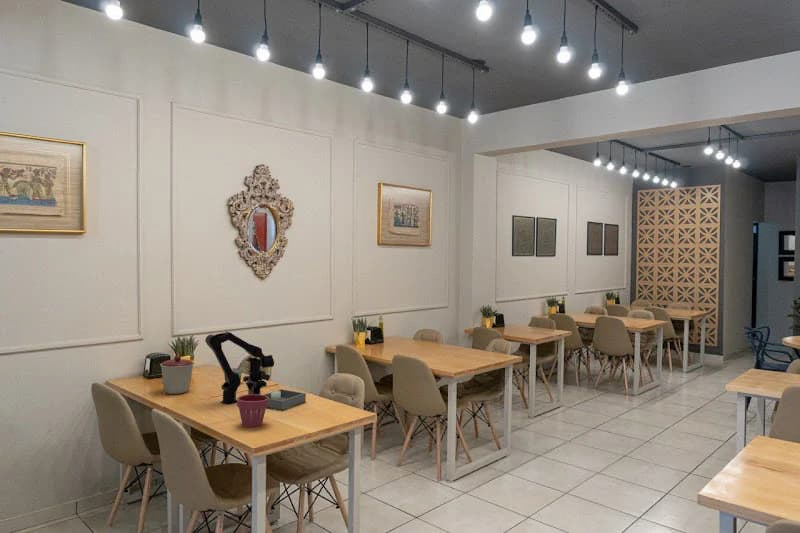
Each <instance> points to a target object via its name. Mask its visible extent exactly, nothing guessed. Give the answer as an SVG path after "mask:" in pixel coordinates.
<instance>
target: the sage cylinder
mask: <svg viewBox="0 0 800 533" xmlns="http://www.w3.org/2000/svg"><path fill="white" fill-rule="evenodd" d="M270 392H271V399H275V400H281V391H277V390H271V391H270Z"/></svg>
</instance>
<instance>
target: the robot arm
mask: <svg viewBox="0 0 800 533" xmlns="http://www.w3.org/2000/svg"><path fill="white" fill-rule="evenodd" d="M227 341H229V342H231V343H232V344H235V345H236V346H238V347H240V348H241V349H243V350H244V351H245V352H246V353H248V354H247V355H250V356H249V357H247V359H246V360H245V361H246V362H248V363H249V370H248V371H247V372H248V373H249V375H245V376H243V378H241V379H240V378H239V375H238V373H236V372H234V371H232V369H233V368H232V367H231V365H230V363H229V361H228V358H227V357H226V355H225V353H224V351H223V349H222V348H223V346H222V344H223V343H225V342H227ZM205 343H206V345H207V346H208V347H209V349H210V350H212V352H213V354H214V355H215V357H216V359H217V362H218V364H219V366H220V368H221V370H222V372H223V374H224V383H223V384H222V385H221V389H222V390H223V391H222V400H221V401H220V404H221V403H222V404H226V405H230V404H234V403H237V391H238V389H239V387H240V386H241V382H240V380H242V382H243V383H245V385H246V387H247V390H248V389H253V392H254V394H259V391H260V390H261V389H262V388H264V387H267V385H268V384H267V382H269V381H270V377H271V375H269V374H268V373H266V371H264V370H261V368H262V369H266V368H273V367H274V365H275V360H274V358H273V355H272V354H268V355H265V354H264V353H263V350H262V348H261V347H259V346H256V345H254V344H250V343H248V342H247V341H245V340H243V339H241V337H238V336H236V335H235V334H233V333H232V332H229V331H225V332H221V333H216V334H211V333H210V334H208V335H207V336H206V338H205Z"/></svg>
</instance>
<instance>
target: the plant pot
mask: <svg viewBox="0 0 800 533" xmlns="http://www.w3.org/2000/svg"><path fill="white" fill-rule="evenodd" d="M236 400H237V402H236V407H237V408H238V410H239V415H240V422H241V425H242V427H245V428H257V427H260V426H262V425H263V422H264V418H265V414H266V409H267V408H266V407H267V406H268V397H267V396H265V395H264V394H260V395H259V394H250V395H248V394H244V395H240V396H238V397H236Z"/></svg>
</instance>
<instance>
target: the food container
mask: <svg viewBox="0 0 800 533" xmlns="http://www.w3.org/2000/svg"><path fill="white" fill-rule="evenodd" d="M231 369H232V371H234V372H236V373H238V375H239V378H240V379H241V380H242V372H243V371H244V369H243V367H242V366H241V365H240V366H239V367H237V368H234V367H233V368H231ZM241 380H240V382H241Z"/></svg>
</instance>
